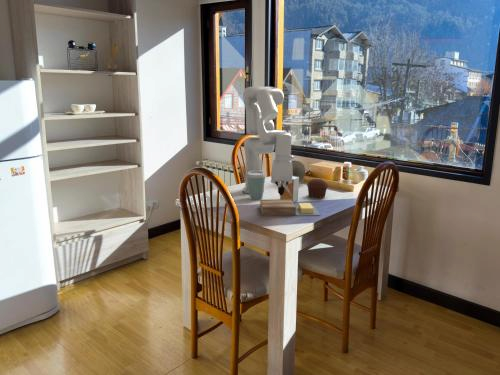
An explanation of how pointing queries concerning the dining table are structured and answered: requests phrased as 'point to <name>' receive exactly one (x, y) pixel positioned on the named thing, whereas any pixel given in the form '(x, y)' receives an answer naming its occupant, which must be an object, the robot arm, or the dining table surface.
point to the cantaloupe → (298, 170)
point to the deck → (277, 207)
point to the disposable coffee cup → (256, 184)
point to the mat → (307, 213)
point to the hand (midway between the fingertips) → (281, 194)
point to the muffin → (317, 188)
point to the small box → (291, 190)
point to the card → (306, 208)
